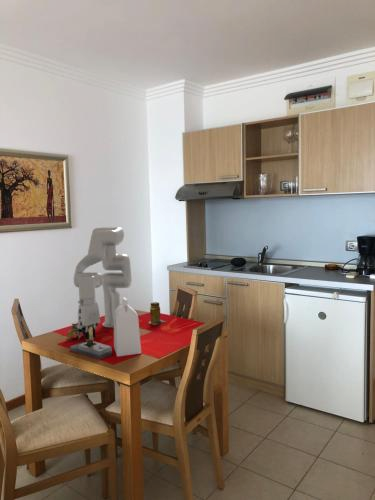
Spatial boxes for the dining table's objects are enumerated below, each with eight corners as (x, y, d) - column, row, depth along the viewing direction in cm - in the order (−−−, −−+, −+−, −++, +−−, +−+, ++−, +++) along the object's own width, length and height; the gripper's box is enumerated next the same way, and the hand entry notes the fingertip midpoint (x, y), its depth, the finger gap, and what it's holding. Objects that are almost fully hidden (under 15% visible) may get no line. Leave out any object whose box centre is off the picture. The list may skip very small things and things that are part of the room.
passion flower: (84, 345, 229) (97, 326, 229) (78, 348, 218) (91, 329, 219) (68, 333, 230) (80, 315, 230) (61, 336, 219) (74, 317, 219)
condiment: (147, 322, 250) (147, 303, 249) (159, 319, 255) (158, 300, 254) (154, 325, 244) (153, 305, 243) (166, 322, 249) (165, 302, 248)
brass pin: (85, 342, 202) (84, 324, 201) (92, 341, 204) (91, 323, 203) (88, 344, 199) (86, 325, 198) (94, 342, 201) (93, 324, 200)
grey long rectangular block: (70, 350, 206) (69, 341, 205) (82, 345, 212) (82, 337, 211) (99, 359, 192) (99, 350, 192) (111, 354, 198) (111, 345, 198)
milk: (141, 353, 199) (138, 300, 196) (117, 356, 196) (114, 302, 193) (137, 345, 210) (134, 295, 207) (114, 348, 207) (111, 297, 204)
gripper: (78, 305, 190) (80, 344, 192) (106, 298, 203) (107, 335, 205) (68, 303, 195) (70, 341, 197) (95, 296, 208) (97, 332, 210)
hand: (89, 337), depth 201 cm, fingers closed on brass pin, 3 cm apart
